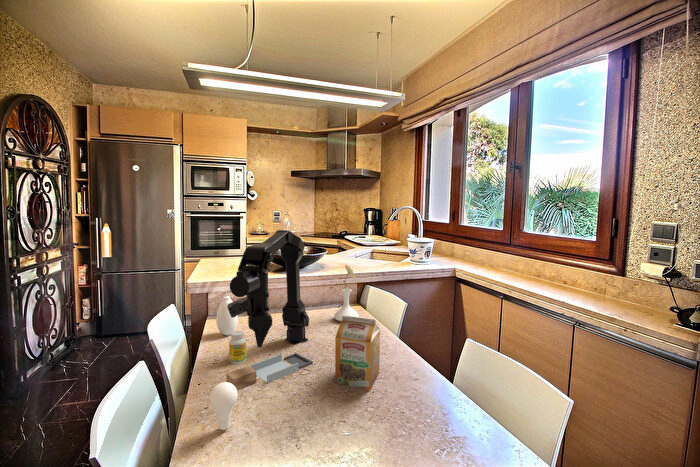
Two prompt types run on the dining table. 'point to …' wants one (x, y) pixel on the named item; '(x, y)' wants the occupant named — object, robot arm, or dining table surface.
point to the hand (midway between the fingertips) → (258, 341)
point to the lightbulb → (223, 402)
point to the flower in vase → (346, 300)
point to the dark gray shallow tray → (298, 360)
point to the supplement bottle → (237, 347)
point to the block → (242, 377)
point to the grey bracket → (273, 368)
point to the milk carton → (357, 352)
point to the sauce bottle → (226, 317)
